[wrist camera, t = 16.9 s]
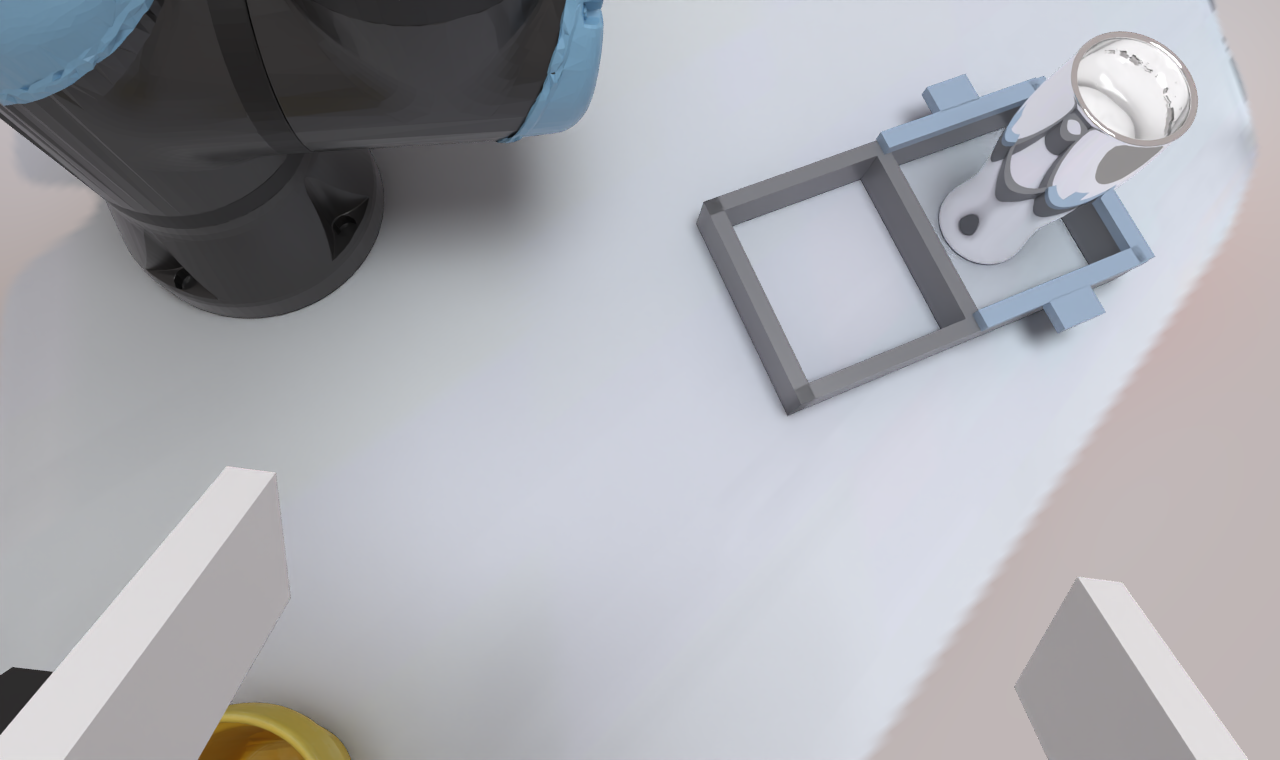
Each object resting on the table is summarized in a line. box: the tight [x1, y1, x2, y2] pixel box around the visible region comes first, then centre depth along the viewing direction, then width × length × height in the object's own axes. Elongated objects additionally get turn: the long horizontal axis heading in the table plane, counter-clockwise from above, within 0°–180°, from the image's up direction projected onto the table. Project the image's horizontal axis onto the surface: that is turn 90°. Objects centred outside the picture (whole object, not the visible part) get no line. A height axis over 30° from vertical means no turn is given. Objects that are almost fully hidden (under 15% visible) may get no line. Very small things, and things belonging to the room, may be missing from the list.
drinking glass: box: [939, 31, 1198, 264], centre depth 45 cm, size 7×7×15 cm
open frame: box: [697, 74, 1155, 415], centre depth 50 cm, size 18×25×4 cm
